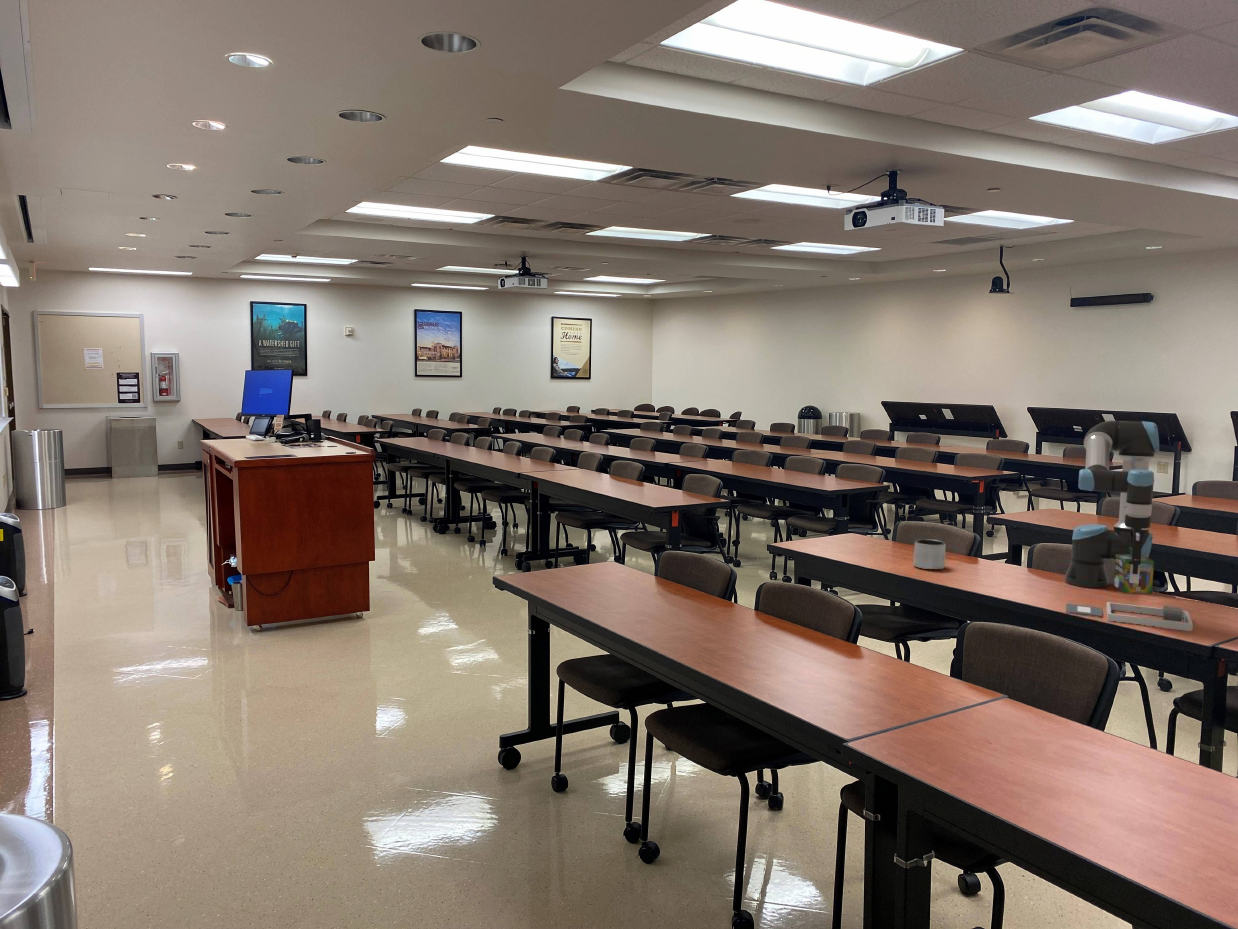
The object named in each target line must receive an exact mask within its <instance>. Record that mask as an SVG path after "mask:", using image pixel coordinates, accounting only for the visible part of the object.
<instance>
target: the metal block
mask: <svg viewBox="0 0 1238 929" xmlns="http://www.w3.org/2000/svg"><path fill="white" fill-rule="evenodd" d="M1162 608H1163V616H1161V617H1162V618H1161V619H1162V620H1170V621H1178V622H1183V619H1182V612H1183V611H1184V610H1183V609H1182V607H1179V606H1177V607H1176V606H1169V605H1163V607H1162Z"/></svg>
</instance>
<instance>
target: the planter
mask: <svg viewBox="0 0 1238 929" xmlns="http://www.w3.org/2000/svg"><path fill="white" fill-rule="evenodd" d="M913 551H914V554H913V566H914V567H916V568H917V567H918V568H917V569H919V568H922V569H921V570H924V569H941V570H943V569H944V568H945V566H946V565H945V564H946V541H942V540H940V539H939V540H938V539H933V538H932V539H931V538H920V539H919V538H918V539H916V540H914V550H913Z"/></svg>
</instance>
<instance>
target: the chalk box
mask: <svg viewBox="0 0 1238 929" xmlns="http://www.w3.org/2000/svg"><path fill="white" fill-rule="evenodd" d="M1129 550H1130V554H1125V555H1119V554H1116V557H1115V560H1114V561H1115V562H1114V579H1113V587H1115V588H1117V589H1118V590H1119V591H1120V592H1121V593H1123V594H1150V595H1151V594H1153V588H1154V587H1153V584H1154V583H1153V580H1154V567H1155V566H1154V565H1155V564H1154V563H1155V560H1153V559H1151V558H1149V557H1145V556H1144V555H1141V564H1140V573H1139V584H1137V583H1129V579H1130V565H1131V564H1129V562H1131V560H1132V547H1130V546H1129Z"/></svg>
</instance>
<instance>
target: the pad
mask: <svg viewBox="0 0 1238 929" xmlns="http://www.w3.org/2000/svg"><path fill="white" fill-rule="evenodd" d="M1065 609H1066V610H1065V613H1066V612H1070V613H1077V614H1076V615H1078V614H1082V615H1081V616H1086V615H1091V616H1090V617H1094V616H1098V617H1097V618H1103V610H1102V607H1100V606H1093V605H1092V606H1091V605H1084V604H1083V605H1082V604H1076V603H1075V604H1074V603H1066V608H1065ZM1070 613H1069V614H1070Z"/></svg>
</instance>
